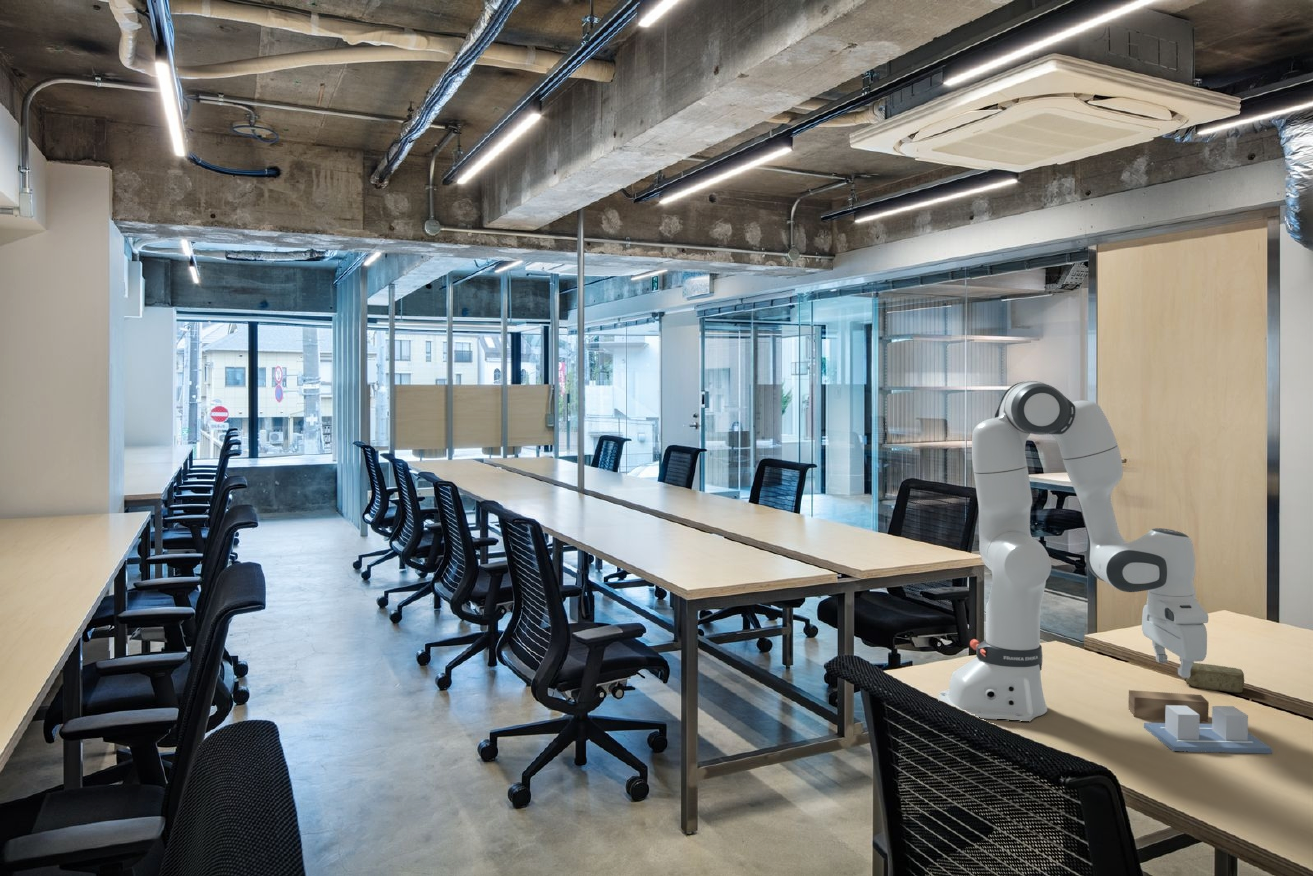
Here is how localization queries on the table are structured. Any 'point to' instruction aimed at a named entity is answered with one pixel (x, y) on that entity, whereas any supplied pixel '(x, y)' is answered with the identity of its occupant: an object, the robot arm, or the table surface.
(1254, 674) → the table surface
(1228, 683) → the stone block
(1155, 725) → the bridge base
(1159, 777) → the table surface
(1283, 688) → the table surface
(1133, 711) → the walnut beam
